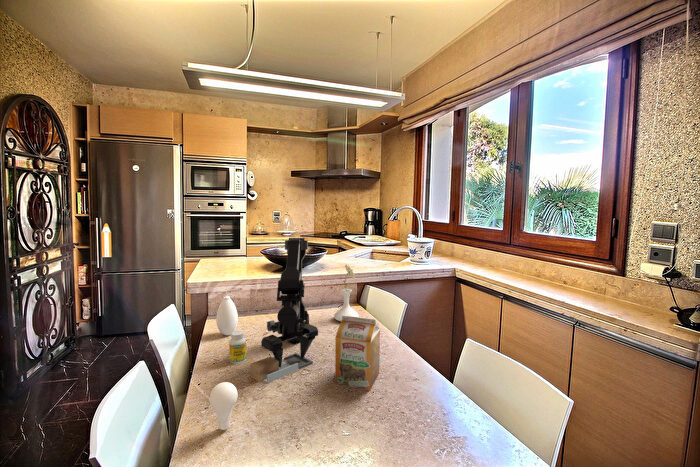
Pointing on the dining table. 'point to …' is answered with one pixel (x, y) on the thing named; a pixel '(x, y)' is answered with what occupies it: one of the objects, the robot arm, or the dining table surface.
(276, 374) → the grey bracket
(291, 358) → the dark gray shallow tray
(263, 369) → the block
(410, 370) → the dining table surface
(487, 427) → the dining table surface
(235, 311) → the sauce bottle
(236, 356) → the supplement bottle
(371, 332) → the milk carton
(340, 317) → the flower in vase
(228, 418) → the lightbulb
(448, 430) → the dining table surface
